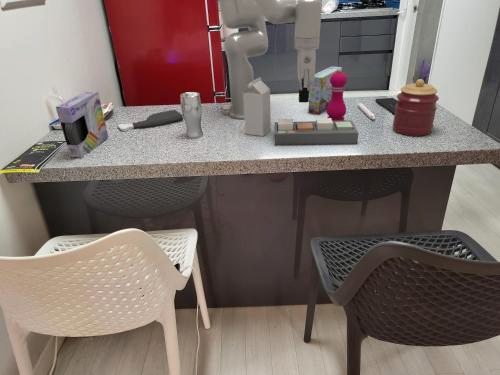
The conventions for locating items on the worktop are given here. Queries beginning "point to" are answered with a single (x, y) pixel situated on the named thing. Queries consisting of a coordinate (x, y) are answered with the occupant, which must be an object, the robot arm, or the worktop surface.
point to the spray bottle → (155, 120)
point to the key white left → (285, 124)
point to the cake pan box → (82, 123)
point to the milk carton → (257, 108)
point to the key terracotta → (304, 126)
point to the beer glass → (192, 113)
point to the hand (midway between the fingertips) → (303, 101)
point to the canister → (415, 109)
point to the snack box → (321, 91)
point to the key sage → (343, 125)
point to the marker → (366, 111)
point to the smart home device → (388, 104)
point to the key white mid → (324, 124)
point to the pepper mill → (337, 96)
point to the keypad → (315, 136)
